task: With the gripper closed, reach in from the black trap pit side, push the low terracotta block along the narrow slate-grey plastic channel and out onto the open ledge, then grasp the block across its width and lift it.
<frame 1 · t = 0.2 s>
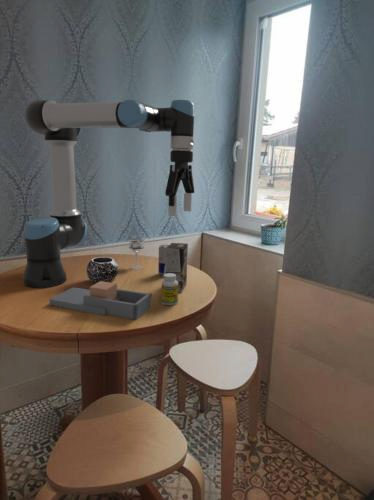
hand: (180, 213, 123), 28 cm above the table, tool pointing down, fingers open, 13 cm apart
energy drink: (164, 274, 146), on the table
channel: (101, 305, 113), on the table
terracotta block: (103, 300, 112), point 2 cm above the table, touching channel
wineglass: (136, 267, 154), on the table
supplement bottle: (169, 303, 117), on the table
coffee box: (176, 288, 131), on the table
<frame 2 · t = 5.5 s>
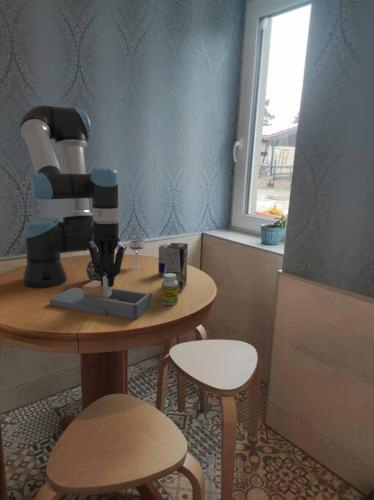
hand: (107, 295, 111), 4 cm above the table, tool pointing down, fingers closed
terracotta block: (97, 299, 113), point 2 cm above the table, touching channel
everything else where it was.
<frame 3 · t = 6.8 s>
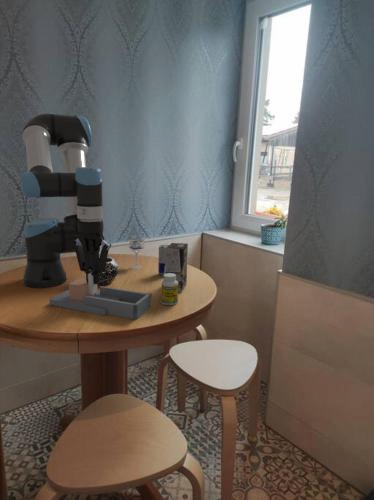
hand: (93, 292, 113), 4 cm above the table, tool pointing down, fingers closed
terracotta block: (83, 296, 114), point 2 cm above the table, touching channel
everything else where it was.
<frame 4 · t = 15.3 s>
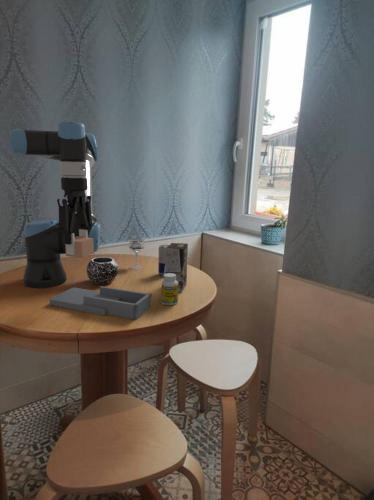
hand: (77, 251, 111), 17 cm above the table, tool pointing down, fingers closed on terracotta block, 6 cm apart
terracotta block: (80, 254, 111), point 16 cm above the table, touching gripper
everything else where it was.
at the end: terracotta block point 16.0 cm above the table; the gripper is holding terracotta block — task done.
